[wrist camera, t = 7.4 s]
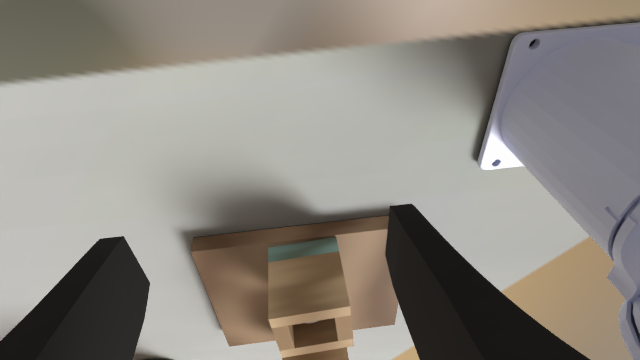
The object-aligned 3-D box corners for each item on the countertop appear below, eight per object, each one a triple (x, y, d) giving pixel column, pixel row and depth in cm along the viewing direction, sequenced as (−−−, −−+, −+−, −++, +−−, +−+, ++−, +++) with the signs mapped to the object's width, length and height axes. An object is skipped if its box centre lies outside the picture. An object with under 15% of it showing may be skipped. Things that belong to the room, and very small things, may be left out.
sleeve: (336, 236, 23) (350, 306, 19) (340, 278, 26) (353, 345, 22) (268, 247, 23) (268, 319, 19) (280, 287, 26) (282, 357, 22)
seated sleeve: (338, 300, 28) (349, 366, 24) (338, 330, 30) (349, 394, 27) (280, 307, 27) (283, 376, 23) (286, 336, 30) (289, 402, 26)
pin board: (404, 213, 24) (432, 277, 20) (390, 311, 32) (408, 372, 28) (193, 237, 23) (178, 309, 19) (230, 332, 31) (225, 398, 27)
